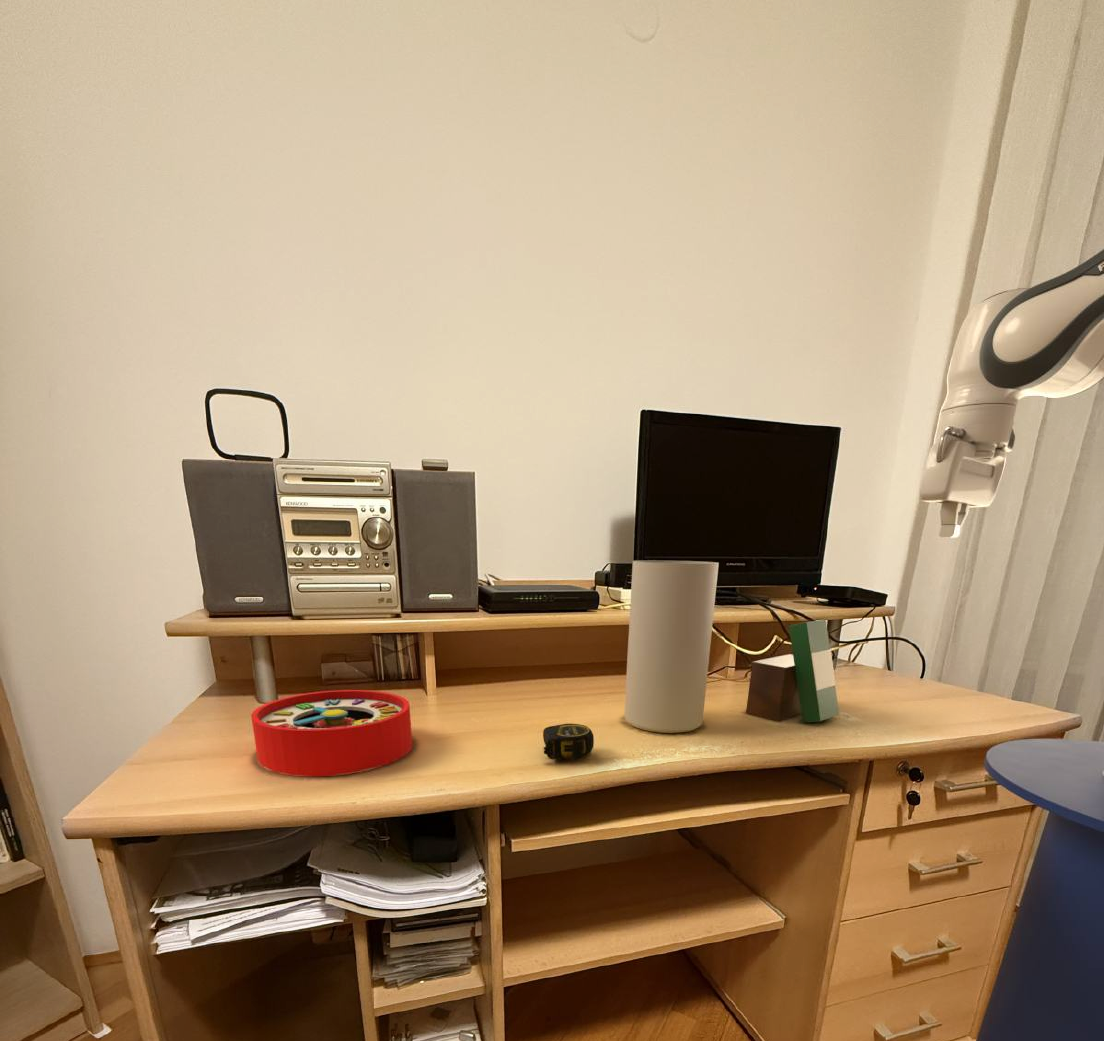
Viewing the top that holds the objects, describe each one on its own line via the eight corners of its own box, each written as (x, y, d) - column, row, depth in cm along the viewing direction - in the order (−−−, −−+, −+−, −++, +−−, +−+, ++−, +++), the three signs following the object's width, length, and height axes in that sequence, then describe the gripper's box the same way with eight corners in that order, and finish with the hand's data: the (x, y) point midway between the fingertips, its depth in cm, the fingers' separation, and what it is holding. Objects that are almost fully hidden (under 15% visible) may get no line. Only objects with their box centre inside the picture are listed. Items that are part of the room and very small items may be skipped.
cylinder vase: (608, 720, 95) (615, 560, 87) (657, 707, 103) (668, 560, 95) (668, 740, 86) (683, 564, 78) (717, 724, 94) (735, 563, 86)
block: (813, 709, 103) (821, 659, 100) (777, 721, 96) (785, 667, 93) (782, 702, 108) (789, 654, 105) (745, 713, 100) (752, 661, 98)
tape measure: (542, 746, 82) (542, 721, 81) (590, 747, 83) (591, 721, 81) (543, 764, 76) (543, 737, 75) (595, 764, 76) (596, 737, 75)
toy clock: (440, 705, 80) (306, 742, 65) (441, 745, 82) (312, 790, 67) (353, 683, 92) (221, 710, 77) (356, 719, 94) (228, 751, 78)
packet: (831, 723, 99) (883, 660, 90) (812, 730, 95) (865, 664, 86) (772, 675, 105) (815, 612, 97) (752, 680, 101) (796, 614, 93)
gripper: (973, 420, 73) (947, 536, 78) (1019, 439, 86) (995, 538, 90) (918, 427, 78) (897, 536, 82) (969, 444, 90) (948, 538, 95)
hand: (948, 537), depth 86 cm, fingers closed
